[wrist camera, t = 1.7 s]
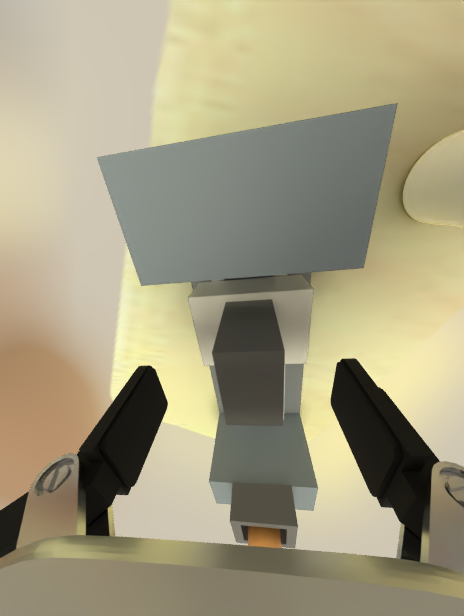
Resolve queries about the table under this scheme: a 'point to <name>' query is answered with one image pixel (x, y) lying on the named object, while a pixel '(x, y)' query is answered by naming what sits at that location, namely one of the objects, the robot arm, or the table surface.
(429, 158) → the drinking glass
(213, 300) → the carriage
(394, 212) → the table surface
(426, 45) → the table surface
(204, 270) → the rail track
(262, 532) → the button
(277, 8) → the table surface
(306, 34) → the table surface
